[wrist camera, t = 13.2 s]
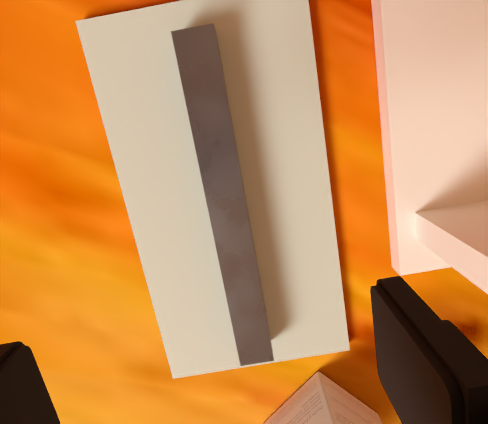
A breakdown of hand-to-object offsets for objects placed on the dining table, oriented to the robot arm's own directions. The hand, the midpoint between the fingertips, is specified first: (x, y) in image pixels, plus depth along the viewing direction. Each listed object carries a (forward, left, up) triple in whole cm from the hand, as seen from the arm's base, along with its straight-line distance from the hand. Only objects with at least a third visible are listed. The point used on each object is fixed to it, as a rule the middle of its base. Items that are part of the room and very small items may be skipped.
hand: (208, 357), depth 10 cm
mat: (0, 0, -17) cm, 17 cm away
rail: (0, 0, -17) cm, 17 cm away
